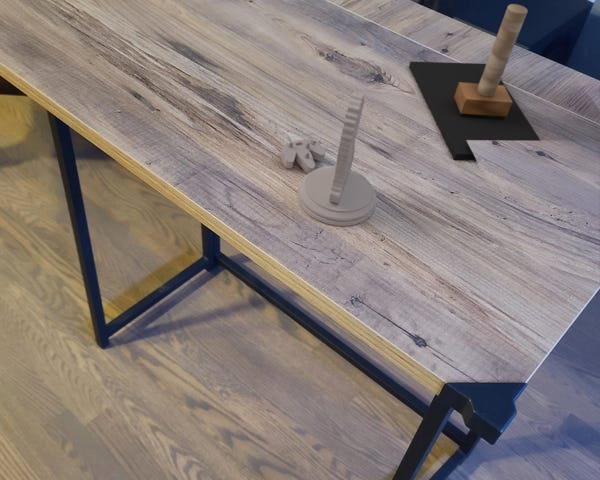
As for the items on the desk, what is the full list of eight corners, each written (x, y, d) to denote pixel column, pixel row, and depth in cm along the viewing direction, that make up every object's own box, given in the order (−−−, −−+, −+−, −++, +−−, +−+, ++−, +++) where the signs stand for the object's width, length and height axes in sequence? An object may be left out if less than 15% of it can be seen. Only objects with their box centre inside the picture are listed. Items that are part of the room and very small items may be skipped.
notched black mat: (488, 69, 99) (491, 63, 98) (546, 159, 84) (549, 154, 83) (408, 67, 97) (410, 61, 96) (453, 159, 82) (455, 153, 81)
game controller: (301, 181, 75) (303, 164, 73) (239, 138, 80) (239, 121, 78) (331, 163, 78) (333, 147, 76) (269, 122, 83) (270, 106, 81)
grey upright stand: (382, 185, 77) (412, 77, 65) (367, 235, 70) (397, 126, 59) (308, 165, 77) (325, 56, 66) (287, 213, 71) (301, 101, 60)
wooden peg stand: (497, 103, 91) (538, 3, 79) (504, 120, 88) (548, 18, 76) (452, 100, 90) (487, -2, 78) (459, 117, 87) (496, 14, 75)
